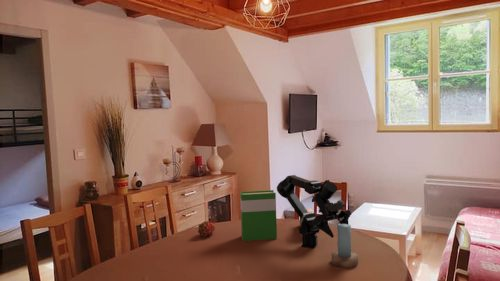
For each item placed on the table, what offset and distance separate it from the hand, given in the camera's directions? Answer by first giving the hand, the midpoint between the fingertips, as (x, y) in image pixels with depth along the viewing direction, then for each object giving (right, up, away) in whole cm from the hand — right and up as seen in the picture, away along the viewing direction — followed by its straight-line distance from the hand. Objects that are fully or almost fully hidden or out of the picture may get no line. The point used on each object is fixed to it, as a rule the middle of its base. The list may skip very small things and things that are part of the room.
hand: (341, 235), depth 160 cm
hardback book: (-35, -10, +35) cm, 50 cm away
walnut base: (+1, -11, -1) cm, 12 cm away
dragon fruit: (-63, -11, +41) cm, 76 cm away
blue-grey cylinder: (+1, -8, -1) cm, 9 cm away
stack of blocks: (-8, -9, +44) cm, 45 cm away
